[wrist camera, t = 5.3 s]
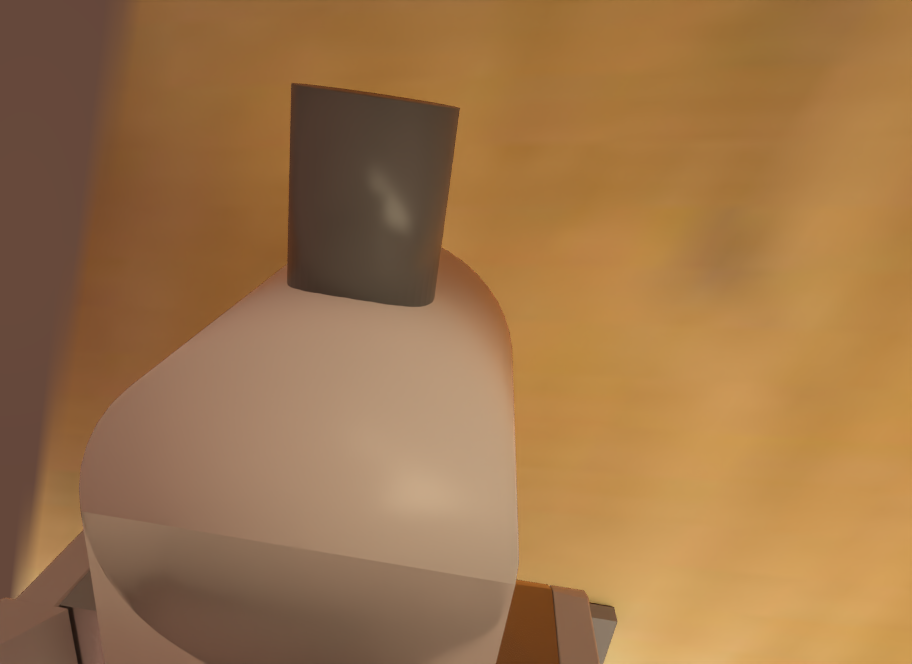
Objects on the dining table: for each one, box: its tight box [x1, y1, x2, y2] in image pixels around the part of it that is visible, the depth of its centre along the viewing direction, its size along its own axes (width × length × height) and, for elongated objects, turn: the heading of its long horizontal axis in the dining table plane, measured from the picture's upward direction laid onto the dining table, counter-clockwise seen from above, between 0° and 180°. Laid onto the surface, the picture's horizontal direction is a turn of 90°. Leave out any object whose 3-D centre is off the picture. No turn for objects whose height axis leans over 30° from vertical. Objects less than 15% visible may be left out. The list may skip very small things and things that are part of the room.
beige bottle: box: [79, 83, 519, 664], centre depth 8 cm, size 14×4×4 cm, turn 172°
